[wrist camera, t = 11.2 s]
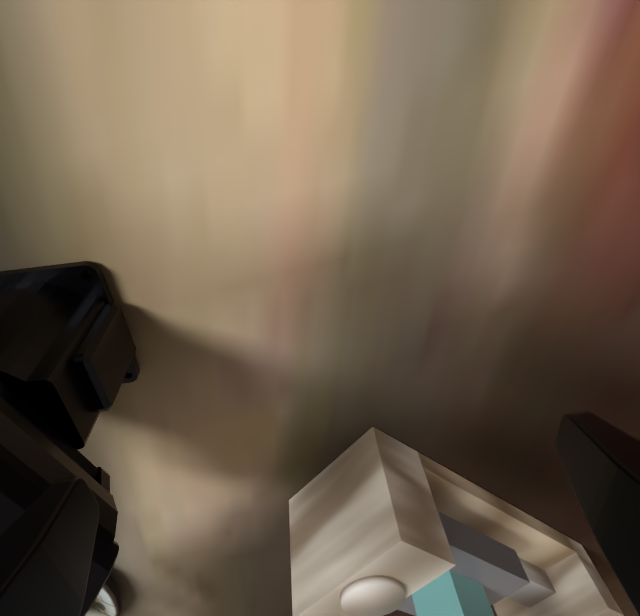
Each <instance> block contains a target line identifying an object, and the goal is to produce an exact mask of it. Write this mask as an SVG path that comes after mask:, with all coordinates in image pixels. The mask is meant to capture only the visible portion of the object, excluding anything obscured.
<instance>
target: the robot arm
mask: <svg viewBox="0 0 640 616" xmlns="http://www.w3.org/2000/svg"><path fill="white" fill-rule="evenodd" d="M84 270H86V271H89V272H91V273H92V275H93V277H89V276H87V275H86V274H85V273H84ZM135 351H136V347H135V344H134V342H133V339H132V337H131V334H130V331H129V329H128V326H127V324H126V321H125V318H124V316H123V313H122V310H121V308H120V307H119V306H118V305H117V304H115V303H114V301H113V299H112V296H111V294H110V291H109V288H108V286H107V283H106V281H105V278H104V275H103V273H102V270H101V269H100V267H99V266H98V265H97V264H95V263H93V262H91V261H83V262H75V263H67V264H59V265H50V266H42V267H34V268H26V269H18V270H9V271H1V272H0V616H85V615H86V613H87V612H88V611H89V609H90V608H91V606H92V605H93V603H94V601H95V599H96V598H97V596H98V594H99V593H100V591H101V589H102V587H103V586H104V584H105V582H106V581H107V579H108V577H109V575H110V573H111V570H112V568H113V565H114V563H115V560H116V558H117V555H118V551H119V545H118V543H116V542H115V541H114V538H115V531H116V522H117V514H118V511H117V508H116V505H115V502H114V498H113V495H111V494H110V476H109V474H107V473H106V472H105V471H104V470H103V469H102V468H101V467H97V468H96V467H95V466H94V465H93V464H92V463H91V462H90V461H89V460H88V459H87V458H85V457H84V456H83V455H82V454H81V453H80V452H79V451H78V450H77V449H81V448H83V447H84V446H85V444H86V442H87V439H88V437H89V435H90V433H91V431H92V428H93V426H94V424H95V422H96V420H97V417H98V415H99V413H100V412H101V411H108V410H109V408H110V407H111V406H112V405H113V402H114V400H115V398H116V395H117V393H118V391H119V388H120V386H121V384H122V383H129V382H133V381H135V380H136V379H137V377H138V375H139V372H140V369H139V366H138V363H137V361H136V358H135V355H134V354H135ZM127 371H130V372H131V373H127ZM556 451H557V455H558V457H559V460H560V462H561V464H562V466H563V469H564V471H565V473H566V475H567V478H568V480H569V482H570V484H571V487H572V489H573V491H574V493H575V496H576V498H577V500H578V502H579V505H580V507H581V509H582V511H583V514H584V516H585V518H586V520H587V522H588V525H589V527H590V529H591V531H592V533H593V535H594V537H595V538H596V540H597V542H598V544H599V546H600V548H601V549H602V551H603V553H604V555H605V556H606V558H607V560H608V562H609V563H610V565H611V567H612V569H613V570H614V572H615V574H616V576H617V578H618V579H619V581H620V583H621V585H622V586H623V588H624V590H625V592H626V593H627V595H628V597H629V599H630V600H631V602H632V604H633V606H634V607H635V609H636V611H637V613H638V614H639V616H640V441H639V440H637V439H635V438H634V437H632V436H630V435H629V434H627V433H625V432H624V431H622V430H620V429H618V428H617V427H615V426H613V425H612V424H610V423H608V422H607V421H605V420H603V419H601V418H600V417H598V416H596V415H595V414H593V413H591V412H589V411H576V412H568V413H565V414H564V415H563V417H562V420H561V424H560V427H559V431H558V435H557V439H556Z"/></svg>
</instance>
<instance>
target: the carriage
mask: <svg viewBox="0 0 640 616" xmlns="http://www.w3.org/2000/svg"><path fill="white" fill-rule="evenodd" d="M438 514H439V517H440V520H441V523H442V525H443V528H444V531H445V534H446V537H447V540H448V543H449V546H450V549H451V552H452V555H453V558H454V561H455V564H456V566H454V567H453V568H451V569H450V570H448V571H446V572H445V573H443V574H442V575H440V576H439V577H437V578H436V579H434V580H433V581H431V582H430V583H428V584H427V585H425V586H424V587H422V588H421V589H419V590H418V591H416V592H415V593H413V594H411V595H410V596H408V597H407V598H405V601H404V603H403V604H402V606H401V607H399V608H398V609H397V610H400V611H403V612H406V613H408V614H411V615H414V616H494V614H493V611H492V609H491V605H493V604H495V603H497V602H498V601H500V600H502V599H503V598H505V597H507V596H508V595H510V594H512V593H513V592H515V591H517V590H518V589H520V588H522V587H523V586H525V585H527V584H529V583H530V581H529V579H528V577H527V575H526V572H525V570H524V568H523V566H522V564H521V562H520V559H519V557H518V555H517V553H516V551H515V550H514V549H512V548H510V547H508V546H506V545H504V544H502V543H500V542H498V541H496V540H494V539H492V538H490V537H488V536H486V535H484V534H482V533H480V532H478V531H476V530H474V529H472V528H470V527H468V526H466V525H464V524H462V523H460V522H458V521H456V520H454V519H452V518H450V517H448V516H447V515H445V514H443V513H441V512H439V511H438Z"/></svg>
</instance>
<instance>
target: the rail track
mask: <svg viewBox="0 0 640 616" xmlns="http://www.w3.org/2000/svg"><path fill="white" fill-rule="evenodd" d="M438 511H439V512H441V513H443V514H445V515H447V516H448V517H450V518H452V519H454V520H456V521H458V522H460V523H462V524H464V525H466V526H468V527H470V528H472V529H474V530H476V531H478V532H480V533H482V534H484V535H486V536H488V537H490V538H492V539H494V540H496V541H498V542H500V543H502V544H504V545H506V546H508V547H510V548H512V549H514V550H515V551H516V553H517V555H518V557H519V559H520V562H521V564H522V566H523V568H524V570H525V572H526V575H527V577H528V579H529V581H530V583H529V584H527V585H525V586H523V587H522V588H520V589H518V590H517V591H515V592H513V593H512V594H510V595H508V596H507V597H505V598H503V599H502V600H500V601H498V602H497V603H495V604H493V606H494V608H495V611H496V613H497V616H623V613H622V612H621V610H620V608H619V607H618V605H617V603H616V602H615V600H614V598H613V597H612V595H611V593H610V592H609V590H608V588H607V586H606V585H605V583H604V581H603V580H602V578H601V576H600V575H599V573H598V571H597V570H596V568H595V566H594V565H593V563H592V561H591V560H590V558H589V556H588V555H587V553H586V551H585V550H584V548H583V546H582V545H581V544H579V543H578V542H576V541H574V540H572V539H571V538H569V537H567V536H565V535H564V534H562V533H560V532H558V531H556V530H555V529H553V528H551V527H549V526H548V525H546V524H544V523H542V522H541V521H539V520H537V519H535V518H534V517H532V516H530V515H528V514H526V513H525V512H523V511H521V510H519V509H518V508H516V507H514V506H512V505H511V504H509V503H507V502H505V501H504V500H502V499H500V498H498V497H496V496H495V495H493V494H491V493H489V492H488V491H486V490H484V489H482V488H481V487H479V486H477V485H475V484H474V483H472V482H470V481H468V480H466V479H465V478H463V477H461V476H459V475H458V474H456V473H454V472H452V471H451V470H449V469H447V468H445V467H444V466H442V465H440V464H438V463H436V462H435V461H433V460H431V459H429V458H428V457H426V456H424V455H422V454H421V453H419V452H417V451H415V450H414V449H412V448H410V447H408V446H406V445H405V444H403V443H401V442H399V441H398V440H396V439H394V438H392V437H391V436H389V435H387V434H385V433H384V432H382V431H380V430H378V429H376V428H375V427H372V428H370V429H369V430H368V431H367V432H366V433H365V434H364V435H362V436H361V437H360V438H359V439H358V440H357V441H356V442H355V443H353V444H352V445H351V446H350V447H349V448H348V449H347V450H345V451H344V452H343V453H342V454H341V455H340V456H339V457H337V458H336V459H335V460H334V461H333V462H332V463H331V464H329V465H328V466H327V467H326V468H325V469H324V470H323V471H322V472H320V473H319V474H318V475H317V476H316V477H315V478H314V479H312V480H311V481H310V482H309V483H308V484H307V485H306V486H304V487H303V488H302V489H301V490H300V491H299V492H298V493H297V494H295V495H294V496H293V497H292V498H291V499H290V500H289V518H290V550H291V582H292V614H293V616H384V615H387V614H389V613H391V612H393V611H395V610H397V609H398V608H399V607H401V606H402V604H403V603H404V601H405V598H407V597H408V596H410V595H411V594H413V593H415V592H416V591H418V590H419V589H421V588H422V587H424V586H425V585H427V584H428V583H430V582H431V581H433V580H434V579H436V578H437V577H439V576H440V575H442V574H443V573H445V572H446V571H448V570H450V569H451V568H453V567H454V566H456V564H455V561H454V558H453V555H452V552H451V549H450V546H449V543H448V540H447V537H446V534H445V531H444V528H443V525H442V523H441V520H440V517H439V514H438Z"/></svg>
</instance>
